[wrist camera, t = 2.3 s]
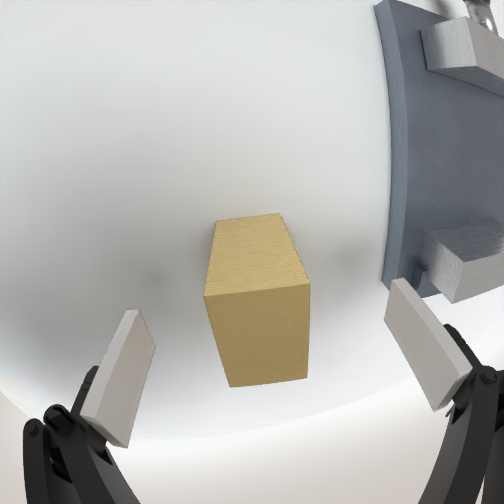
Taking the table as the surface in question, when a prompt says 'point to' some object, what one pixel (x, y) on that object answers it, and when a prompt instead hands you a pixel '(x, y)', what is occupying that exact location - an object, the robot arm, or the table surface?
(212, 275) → the brass block
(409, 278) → the vise
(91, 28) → the table surface
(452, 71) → the free jaw
